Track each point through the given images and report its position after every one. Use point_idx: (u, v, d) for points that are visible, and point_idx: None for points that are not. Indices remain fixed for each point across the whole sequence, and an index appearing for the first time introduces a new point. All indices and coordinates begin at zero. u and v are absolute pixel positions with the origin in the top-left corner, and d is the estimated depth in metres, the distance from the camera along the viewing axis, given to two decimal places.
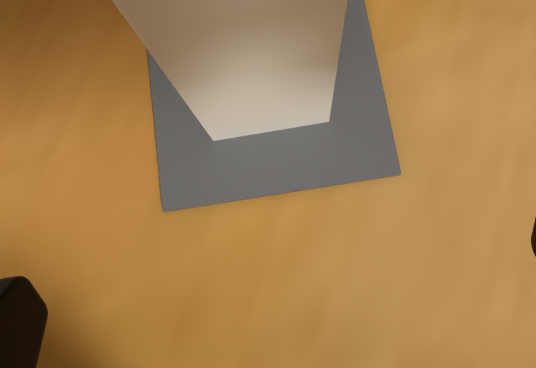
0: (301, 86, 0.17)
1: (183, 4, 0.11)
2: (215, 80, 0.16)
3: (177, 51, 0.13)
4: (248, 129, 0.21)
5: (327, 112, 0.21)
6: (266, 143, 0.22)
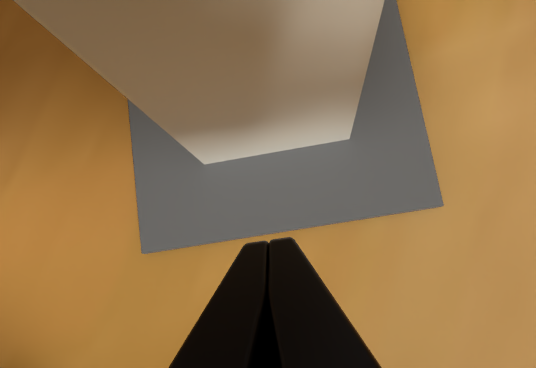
0: (314, 100, 0.13)
1: None
2: (195, 98, 0.11)
3: (129, 60, 0.09)
4: (246, 150, 0.17)
5: (347, 129, 0.16)
6: (270, 167, 0.17)
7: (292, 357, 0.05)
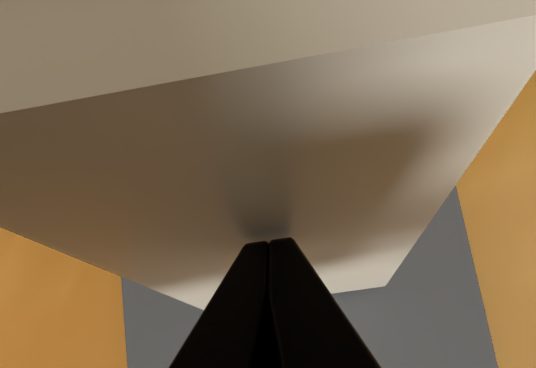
0: (348, 259, 0.10)
1: (54, 158, 0.04)
2: (190, 262, 0.08)
3: (90, 233, 0.06)
4: None
5: (385, 279, 0.13)
6: None
7: (292, 357, 0.05)
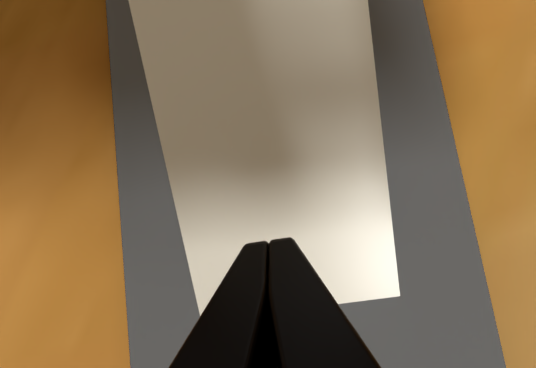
0: (331, 141, 0.12)
1: None
2: (206, 95, 0.12)
3: (160, 4, 0.11)
4: None
5: (389, 253, 0.12)
6: None
7: (292, 357, 0.05)
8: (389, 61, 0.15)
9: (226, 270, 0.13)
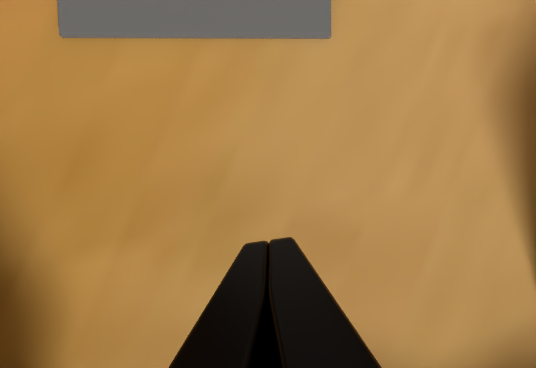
0: None
1: None
2: None
3: None
4: None
5: None
6: None
7: (292, 357, 0.05)
8: None
9: None
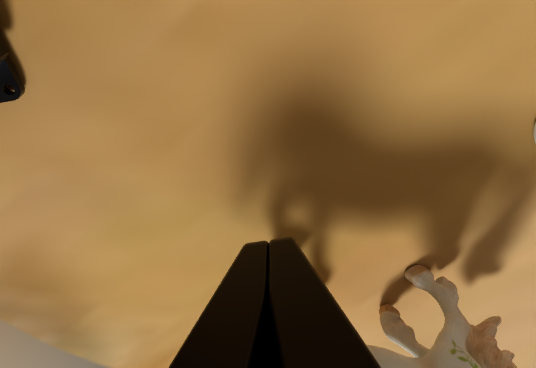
0: None
1: None
2: None
3: None
4: None
5: None
6: None
7: (292, 357, 0.05)
8: None
9: None
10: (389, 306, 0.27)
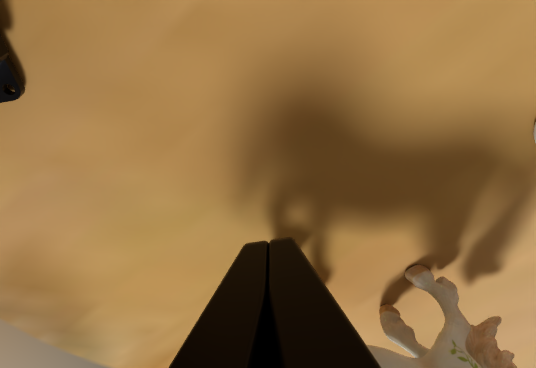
0: None
1: None
2: None
3: None
4: None
5: None
6: None
7: (292, 357, 0.05)
8: None
9: None
10: (389, 306, 0.27)
